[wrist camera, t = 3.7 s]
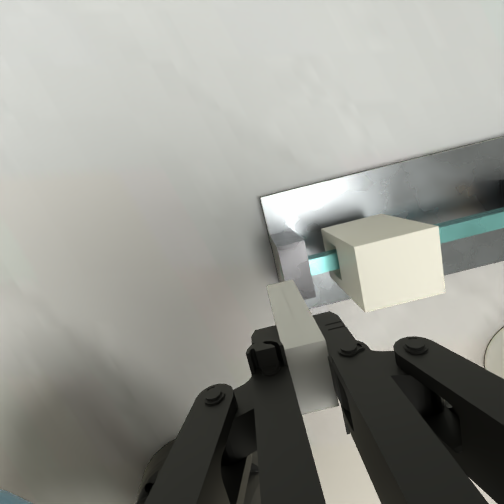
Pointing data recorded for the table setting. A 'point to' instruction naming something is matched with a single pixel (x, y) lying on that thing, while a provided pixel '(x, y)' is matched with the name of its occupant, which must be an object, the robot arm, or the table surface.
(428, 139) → the table surface
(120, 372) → the table surface
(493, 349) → the mug
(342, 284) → the sleeve
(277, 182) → the table surface
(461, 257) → the glowing rod on plate
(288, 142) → the table surface
